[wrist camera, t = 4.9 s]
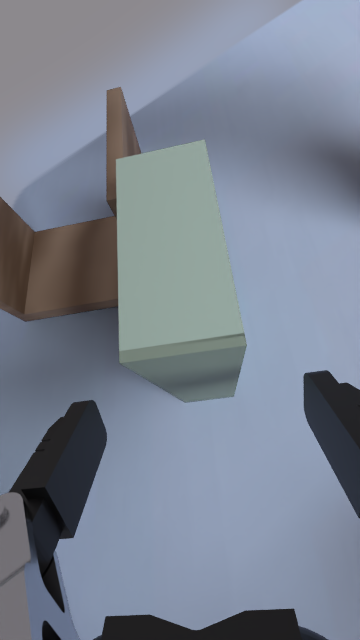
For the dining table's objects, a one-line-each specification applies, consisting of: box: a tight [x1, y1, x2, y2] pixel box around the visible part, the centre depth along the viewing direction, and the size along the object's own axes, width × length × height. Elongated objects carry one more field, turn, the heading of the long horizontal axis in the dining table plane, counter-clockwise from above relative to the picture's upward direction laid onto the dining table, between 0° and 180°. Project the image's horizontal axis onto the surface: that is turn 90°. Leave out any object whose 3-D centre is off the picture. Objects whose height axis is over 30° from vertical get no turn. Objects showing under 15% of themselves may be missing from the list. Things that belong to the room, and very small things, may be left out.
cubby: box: [0, 87, 141, 321], centre depth 23 cm, size 15×10×12 cm, turn 95°
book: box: [116, 139, 247, 403], centre depth 17 cm, size 4×10×15 cm, turn 6°
